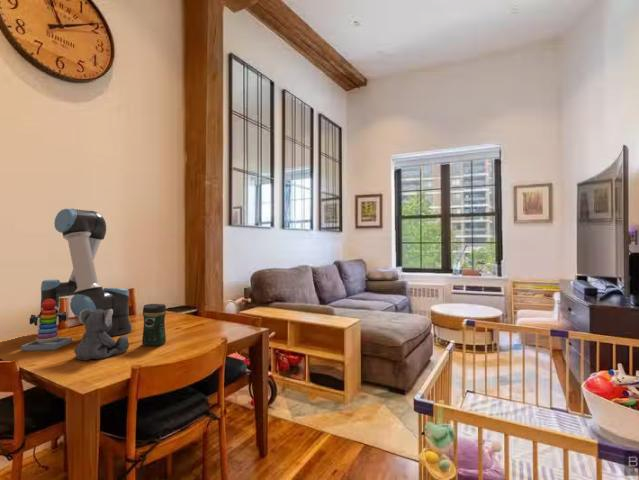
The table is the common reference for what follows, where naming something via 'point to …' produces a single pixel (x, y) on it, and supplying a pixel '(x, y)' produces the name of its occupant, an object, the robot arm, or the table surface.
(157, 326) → the coffee jar
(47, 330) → the stacking toy
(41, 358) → the table surface
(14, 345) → the table surface
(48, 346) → the tray
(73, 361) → the table surface
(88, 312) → the koala plush
